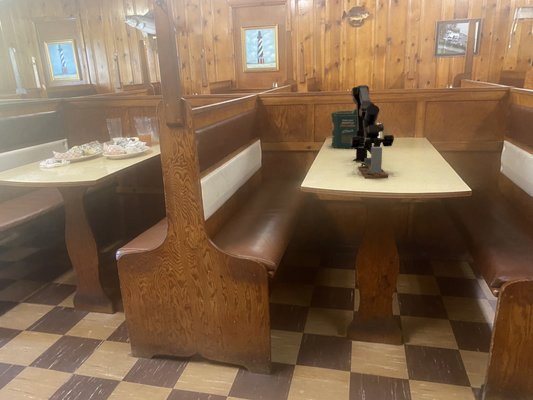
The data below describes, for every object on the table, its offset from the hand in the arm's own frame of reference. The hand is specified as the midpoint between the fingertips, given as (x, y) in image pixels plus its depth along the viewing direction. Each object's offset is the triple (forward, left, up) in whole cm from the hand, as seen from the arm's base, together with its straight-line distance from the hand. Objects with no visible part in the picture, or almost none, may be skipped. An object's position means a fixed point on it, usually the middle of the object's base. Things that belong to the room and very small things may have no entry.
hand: (374, 156), depth 194 cm
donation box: (-59, -45, -8) cm, 75 cm away
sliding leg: (+5, +2, -6) cm, 8 cm away
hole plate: (-2, -2, -8) cm, 9 cm away
